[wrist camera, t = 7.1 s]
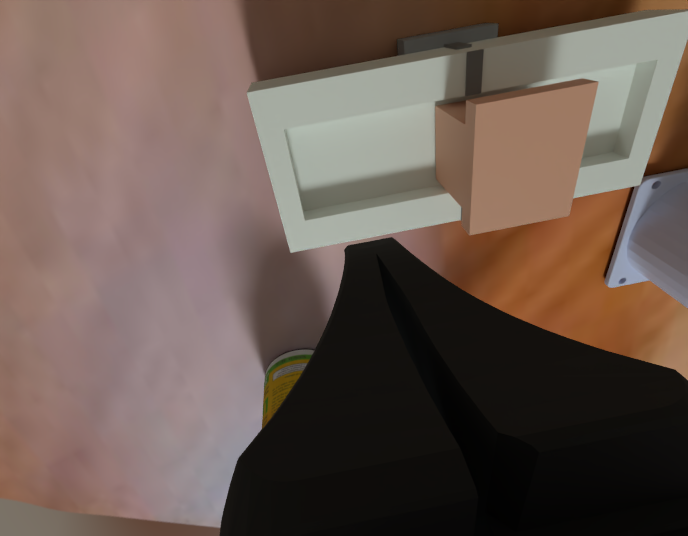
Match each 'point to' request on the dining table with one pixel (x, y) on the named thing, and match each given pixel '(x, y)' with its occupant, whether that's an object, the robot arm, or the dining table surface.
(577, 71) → the beam
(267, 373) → the supplement bottle
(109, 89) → the dining table surface
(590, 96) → the rider
